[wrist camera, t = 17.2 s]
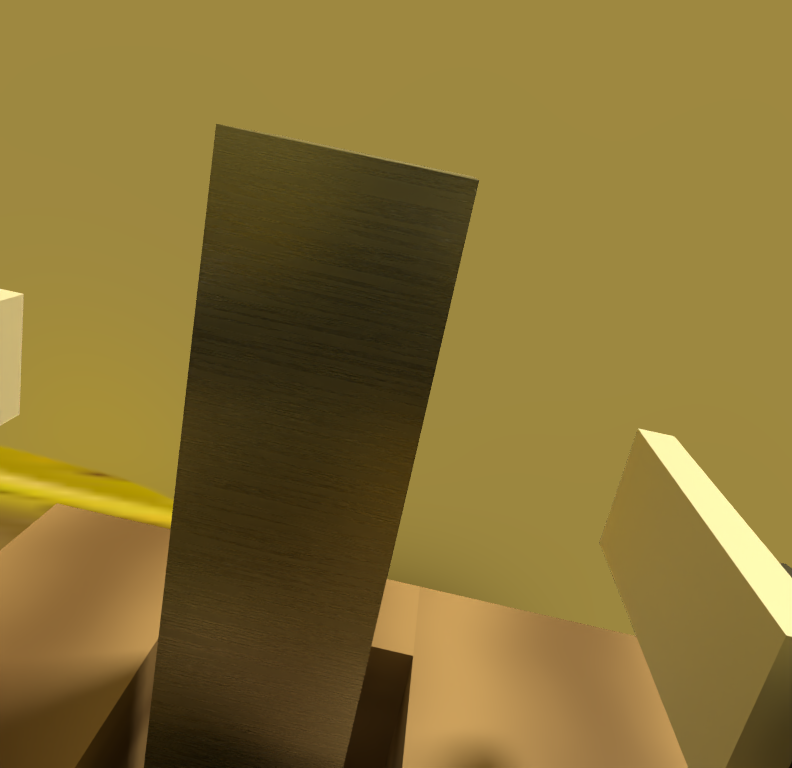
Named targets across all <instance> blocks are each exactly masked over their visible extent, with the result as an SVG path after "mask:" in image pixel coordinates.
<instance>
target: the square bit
mask: <svg viewBox="0 0 792 768" xmlns="http://www.w3.org/2000/svg"><path fill="white" fill-rule="evenodd" d="M478 183H479V180H478V179H476V178H475V177H472V176H466V175H462V174H458V173H452V172H448V171H444V170H439V169H434V168H430V167H425V166H420V165H415V164H411V163H406V162H401V161H397V160H392V159H387V158H383V157H378V156H373V155H369V154H363V153H359V152H354V151H350V150H345V149H340V148H336V147H331V146H326V145H322V144H317V143H313V142H308V141H303V140H299V139H294V138H289V137H285V136H280V135H274V134H268V133H263V132H257V131H252V130H246V129H241V128H235V127H230V126H225V125H219V124H216V131H215V140H214V149H213V158H212V167H211V175H210V184H209V194H208V202H207V212H206V220H205V229H204V237H203V247H202V256H201V264H200V273H199V282H198V291H197V300H196V309H195V317H194V326H193V335H192V344H191V353H190V362H189V371H188V380H187V388H186V397H185V406H184V415H183V424H182V434H181V442H180V450H179V459H178V469H177V477H176V486H175V495H174V504H173V512H172V521H171V530H170V539H169V548H168V557H167V566H166V575H165V583H164V592H163V601H162V610H161V619H160V628H159V637H158V646H157V654H156V663H155V672H154V681H153V690H152V699H151V708H150V716H149V725H148V734H147V743H146V752H145V761H144V768H343V766H344V762H345V758H346V753H347V749H348V745H349V740H350V736H351V732H352V727H353V723H354V719H355V714H356V710H357V706H358V701H359V697H360V693H361V688H362V684H363V680H364V675H365V671H366V667H367V662H368V658H369V654H370V649H371V645H372V641H373V637H374V632H375V628H376V624H377V619H378V615H379V611H380V606H381V602H382V598H383V593H384V589H385V585H386V580H387V576H388V572H389V567H390V563H391V559H392V554H393V550H394V546H395V541H396V537H397V533H398V528H399V524H400V519H401V515H402V511H403V507H404V503H405V498H406V494H407V490H408V485H409V481H410V477H411V472H412V467H413V464H414V459H415V455H416V451H417V446H418V442H419V438H420V433H421V429H422V425H423V420H424V416H425V412H426V407H427V403H428V399H429V394H430V390H431V386H432V382H433V377H434V373H435V369H436V364H437V360H438V355H439V351H440V347H441V343H442V338H443V334H444V329H445V325H446V321H447V317H448V312H449V308H450V303H451V299H452V295H453V291H454V286H455V282H456V278H457V273H458V269H459V265H460V261H461V256H462V252H463V248H464V243H465V239H466V234H467V230H468V226H469V222H470V217H471V213H472V209H473V204H474V200H475V196H476V191H477V187H478Z"/></svg>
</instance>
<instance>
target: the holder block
mask: <svg viewBox="0 0 792 768" xmlns="http://www.w3.org/2000/svg"><path fill="white" fill-rule="evenodd" d="M169 539H170V529H166V528H161V527H157V526H153V525H148V524H144V523H140V522H135V521H131V520H126V519H122V518H118V517H113V516H109V515H105V514H100V513H96V512H92V511H87V510H83V509H78V508H74V507H70V506H65V505H61V504H56V505H54V506H53V507H52V508H51V509H50V510H48V511H47V512H46V513H45V514H44V515H42V516H41V517H40V518H39V519H38V520H36V521H35V522H34V523H33V524H32V525H30V526H29V527H28V528H27V529H26V530H24V531H23V532H22V533H21V534H20V535H18V536H17V537H16V538H15V539H14V540H12V541H11V542H10V543H9V544H8V545H6V546H5V547H4V548H3V549H1V550H0V768H144V761H145V752H146V743H147V734H148V725H149V716H150V708H151V699H152V690H153V681H154V672H155V663H156V654H157V646H158V637H159V628H160V619H161V610H162V601H163V592H164V583H165V575H166V566H167V557H168V548H169ZM343 768H688V766H687V764H686V761H685V759H684V756H683V753H682V751H681V748H680V746H679V743H678V741H677V738H676V736H675V733H674V731H673V728H672V726H671V723H670V721H669V718H668V715H667V713H666V710H665V708H664V705H663V703H662V700H661V698H660V695H659V693H658V690H657V688H656V685H655V683H654V680H653V678H652V675H651V672H650V670H649V667H648V665H647V662H646V660H645V657H644V655H643V652H642V650H641V647H640V645H639V642H638V640H637V637H636V636H633V635H628V634H624V633H620V632H615V631H611V630H607V629H602V628H597V627H594V626H589V625H585V624H581V623H576V622H572V621H567V620H563V619H559V618H554V617H550V616H546V615H541V614H537V613H532V612H528V611H523V610H519V609H515V608H511V607H506V606H502V605H498V604H493V603H489V602H484V601H480V600H476V599H471V598H467V597H462V596H458V595H453V594H449V593H445V592H441V591H436V590H432V589H427V588H423V587H418V586H415V585H410V584H406V583H402V582H397V581H393V580H388V579H387V580H386V585H385V589H384V593H383V598H382V602H381V606H380V611H379V615H378V619H377V624H376V628H375V632H374V637H373V641H372V645H371V649H370V654H369V658H368V662H367V667H366V671H365V675H364V680H363V684H362V688H361V693H360V697H359V701H358V706H357V710H356V714H355V719H354V723H353V727H352V732H351V736H350V740H349V745H348V749H347V753H346V758H345V762H344V766H343Z"/></svg>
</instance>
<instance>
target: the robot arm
mask: <svg viewBox="0 0 792 768" xmlns="http://www.w3.org/2000/svg"><path fill="white" fill-rule="evenodd" d="M22 323H23V294H21V293H17V292H12V291H8V290H3V289H0V425H2V424H4V423H5V422H7V421H9V420H11V419H13V418H14V417H16V416H18V415H19V409H20V380H21V352H22V351H21V350H22ZM599 543H600V546H601V548H602V551H603V553H604V556H605V558H606V561H607V563H608V566H609V569H610V571H611V574H612V576H613V579H614V581H615V584H616V586H617V589H618V591H619V594H620V597H621V599H622V602H623V604H624V607H625V609H626V612H627V614H628V617H629V619H630V622H631V624H632V627H633V629H634V632H635V634H636V637H637V640H638V642H639V645H640V647H641V650H642V652H643V655H644V657H645V660H646V662H647V665H648V667H649V670H650V672H651V675H652V678H653V680H654V683H655V685H656V688H657V690H658V693H659V695H660V698H661V700H662V703H663V705H664V708H665V710H666V713H667V715H668V718H669V721H670V723H671V726H672V728H673V731H674V733H675V736H676V738H677V741H678V743H679V746H680V748H681V751H682V753H683V756H684V759H685V761H686V764H687V766H688V768H792V568H790V567H789V566H787V565H786V564H783V563H779V562H778V561H777V560H776V558H775V557H774V556H773V555H772V554H771V553H770V551H769V550H768V549H767V548H766V546H765V545H764V544H763V543H762V542H761V540H760V539H759V538H758V537H757V536H756V534H755V533H754V532H753V531H752V529H751V528H750V527H749V526H748V525H747V524H746V522H745V521H744V520H743V519H742V518H741V516H740V515H739V514H738V513H737V511H736V510H735V509H734V508H733V507H732V505H731V504H730V503H729V502H728V501H727V499H726V498H725V497H724V496H723V495H722V493H721V492H720V491H719V490H718V489H717V487H715V485H714V484H713V483H712V481H711V480H710V479H709V478H708V477H707V475H706V474H705V473H704V472H703V470H702V469H701V468H700V467H699V466H698V465H697V464H696V462H695V461H694V460H693V459H692V457H691V456H690V455H689V454H688V452H687V451H686V450H685V449H684V448H683V447H682V445H681V444H680V443H679V442H678V440H677V439H676V438H675V437H674V436H670V435H665V434H660V433H656V432H652V431H646V430H642V429H638V430H637V433H636V436H635V439H634V442H633V445H632V448H631V451H630V454H629V457H628V459H627V462H626V466H625V468H624V471H623V474H622V477H621V480H620V483H619V486H618V489H617V492H616V495H615V498H614V501H613V504H612V507H611V510H610V513H609V516H608V518H607V521H606V525H605V527H604V530H603V533H602V536H601V539H600V542H599Z"/></svg>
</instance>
